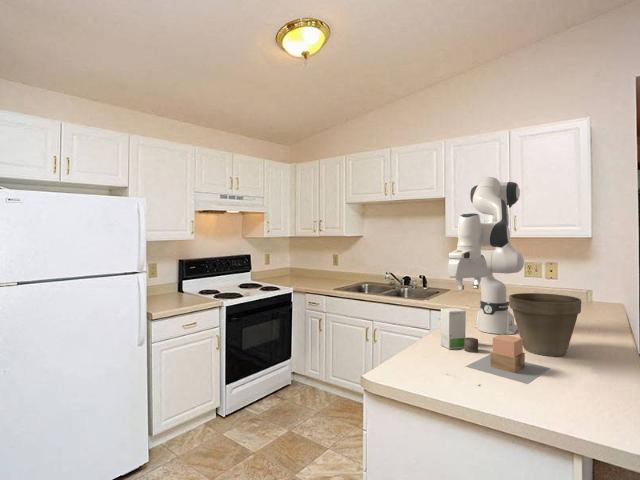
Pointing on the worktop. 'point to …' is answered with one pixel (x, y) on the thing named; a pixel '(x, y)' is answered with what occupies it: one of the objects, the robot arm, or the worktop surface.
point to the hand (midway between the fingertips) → (468, 289)
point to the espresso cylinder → (471, 345)
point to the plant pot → (545, 321)
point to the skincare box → (453, 328)
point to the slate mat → (522, 376)
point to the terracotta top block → (508, 345)
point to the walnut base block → (508, 362)
